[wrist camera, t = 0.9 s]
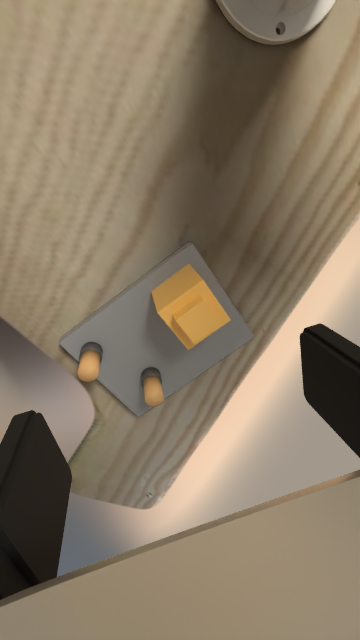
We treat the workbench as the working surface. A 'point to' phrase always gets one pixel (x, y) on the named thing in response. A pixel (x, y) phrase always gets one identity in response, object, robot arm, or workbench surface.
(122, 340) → the board
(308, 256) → the workbench surface
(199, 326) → the stepped orange block
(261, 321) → the workbench surface
